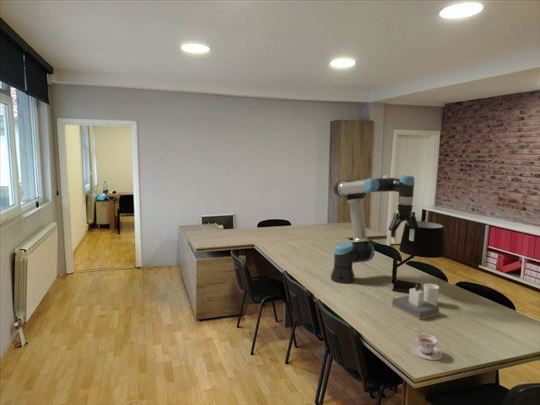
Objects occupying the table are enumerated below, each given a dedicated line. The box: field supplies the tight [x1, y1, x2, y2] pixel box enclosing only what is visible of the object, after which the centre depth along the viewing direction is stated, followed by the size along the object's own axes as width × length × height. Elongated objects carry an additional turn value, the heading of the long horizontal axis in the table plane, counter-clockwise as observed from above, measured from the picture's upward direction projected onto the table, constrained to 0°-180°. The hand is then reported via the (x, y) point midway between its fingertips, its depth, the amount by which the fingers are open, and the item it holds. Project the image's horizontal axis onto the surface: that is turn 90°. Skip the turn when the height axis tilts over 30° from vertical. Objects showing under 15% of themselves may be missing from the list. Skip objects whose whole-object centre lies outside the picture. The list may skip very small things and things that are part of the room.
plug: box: [408, 284, 424, 307], centre depth 193 cm, size 6×4×13 cm, turn 27°
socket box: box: [392, 295, 440, 321], centre depth 194 cm, size 18×14×4 cm
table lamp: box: [391, 220, 446, 295], centre depth 222 cm, size 26×28×40 cm
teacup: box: [410, 333, 443, 361], centre depth 152 cm, size 12×12×6 cm
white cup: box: [422, 283, 440, 306], centre depth 203 cm, size 8×8×10 cm
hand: (402, 241), depth 206 cm, fingers open, 13 cm apart
